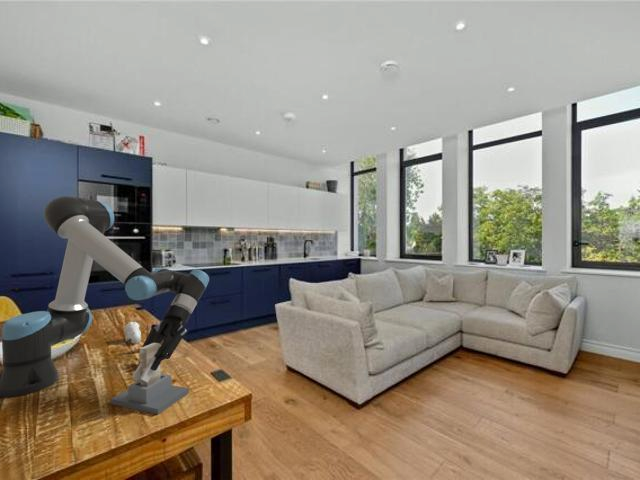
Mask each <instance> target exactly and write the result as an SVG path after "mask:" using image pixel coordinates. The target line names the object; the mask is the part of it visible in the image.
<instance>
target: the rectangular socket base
mask: <svg viewBox="0 0 640 480" xmlns="http://www.w3.org/2000/svg"><path fill="white" fill-rule="evenodd" d="M172 381H173V380H172V375H171V374H167V373H162V372H161V379H160V380H158V381H156V382H155V383H153V384H151V385H149V386H148V387H144V386H141V379H140V381H137V380H136V381H135V382H133V383H131V384H129V385H128V386H127V389H126V390H124V391H122V392H120V393H118V394H116V395H115V396H113V397H111V398H109V404H110V405H114V406H119V407H123V408H128V409H132V410H137V411H141V412H146V413H150V414H155V415H160V414H161V413H163V412H164V411H165V410H167V409H168V408H170V407H171V406H172V405H174V404H176V403H177V402H178V401H180V400H182V399H183V398H184V397H186V396H187V395H188V394H190V389H189V387H183V386H179V385H173V384H172V383H173V382H172Z"/></svg>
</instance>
